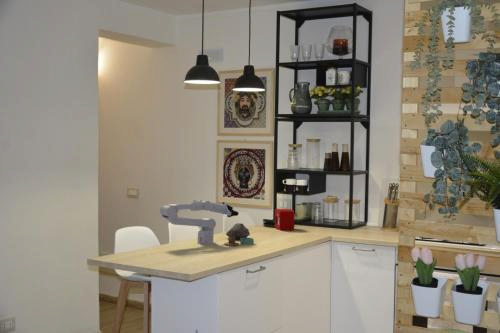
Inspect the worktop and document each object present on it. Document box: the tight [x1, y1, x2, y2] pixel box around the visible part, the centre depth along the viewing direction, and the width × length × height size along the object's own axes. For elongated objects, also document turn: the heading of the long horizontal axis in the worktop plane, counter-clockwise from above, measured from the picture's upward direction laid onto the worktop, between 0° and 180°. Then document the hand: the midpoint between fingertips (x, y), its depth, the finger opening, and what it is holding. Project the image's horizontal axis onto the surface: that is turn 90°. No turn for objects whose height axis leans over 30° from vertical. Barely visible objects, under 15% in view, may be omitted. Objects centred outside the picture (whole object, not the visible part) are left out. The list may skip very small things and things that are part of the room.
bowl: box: [239, 237, 254, 246], centre depth 375 cm, size 8×8×4 cm
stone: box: [225, 223, 251, 241], centre depth 395 cm, size 18×10×15 cm
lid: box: [224, 236, 240, 247], centre depth 369 cm, size 9×9×5 cm
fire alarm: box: [274, 208, 295, 232], centre depth 451 cm, size 16×11×15 cm
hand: (235, 211), depth 386 cm, fingers open, 7 cm apart
